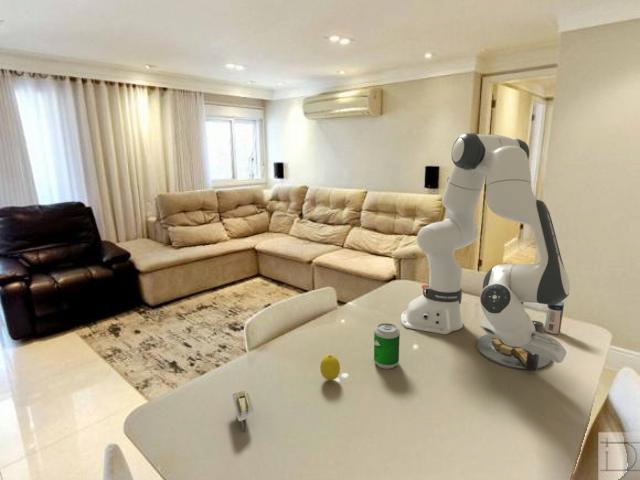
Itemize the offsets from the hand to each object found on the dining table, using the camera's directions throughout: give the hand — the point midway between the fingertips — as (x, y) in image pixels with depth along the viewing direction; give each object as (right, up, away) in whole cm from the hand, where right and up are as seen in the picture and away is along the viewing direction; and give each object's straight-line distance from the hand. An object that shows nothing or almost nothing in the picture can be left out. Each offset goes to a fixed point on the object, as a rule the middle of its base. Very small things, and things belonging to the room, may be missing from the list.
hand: (529, 350), depth 105 cm
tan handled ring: (+2, -4, +10) cm, 11 cm away
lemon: (-56, -9, +1) cm, 57 cm away
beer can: (+23, -1, +27) cm, 35 cm away
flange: (+3, -5, +15) cm, 15 cm away
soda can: (-39, -7, +9) cm, 40 cm away
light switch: (-78, -13, -14) cm, 80 cm away
